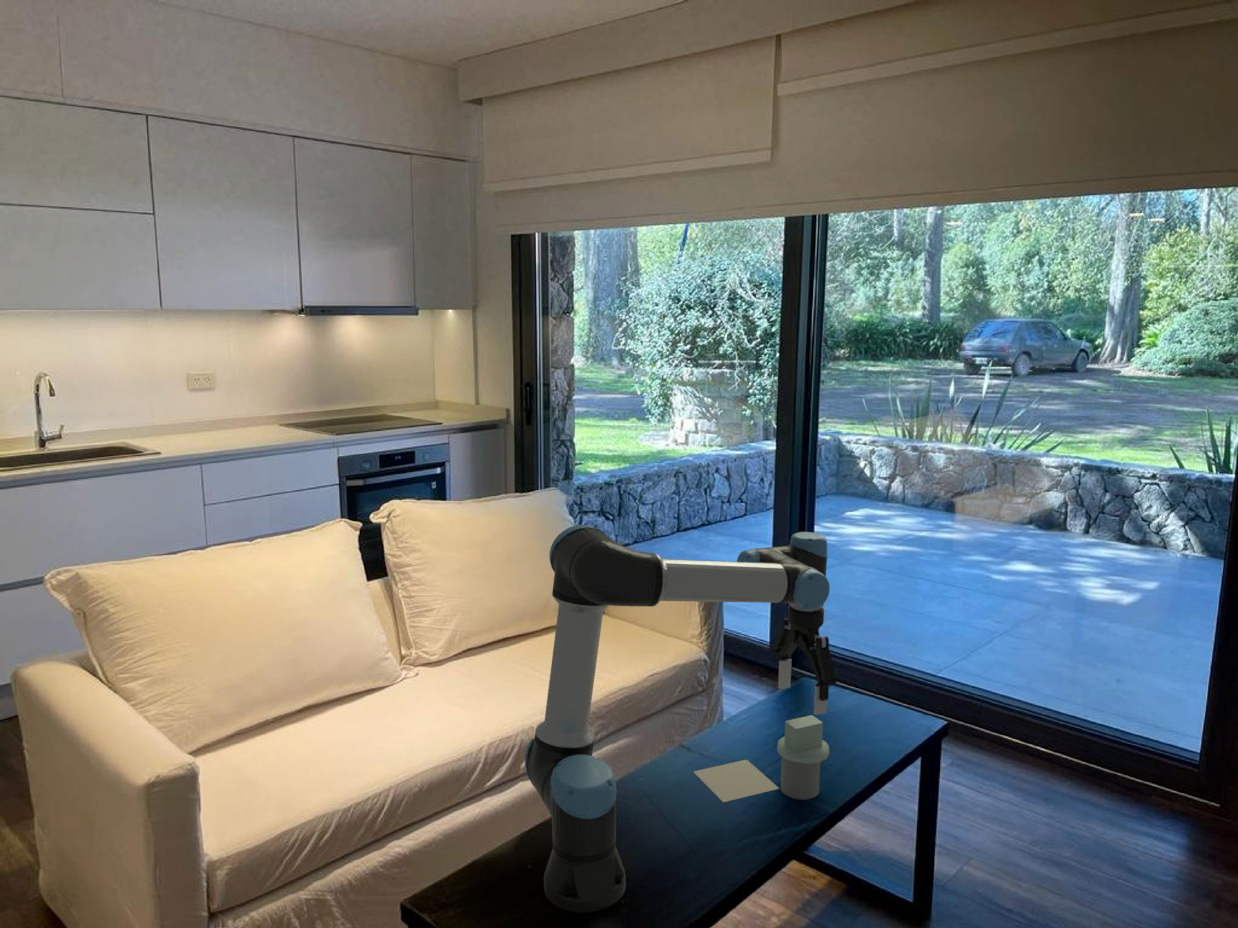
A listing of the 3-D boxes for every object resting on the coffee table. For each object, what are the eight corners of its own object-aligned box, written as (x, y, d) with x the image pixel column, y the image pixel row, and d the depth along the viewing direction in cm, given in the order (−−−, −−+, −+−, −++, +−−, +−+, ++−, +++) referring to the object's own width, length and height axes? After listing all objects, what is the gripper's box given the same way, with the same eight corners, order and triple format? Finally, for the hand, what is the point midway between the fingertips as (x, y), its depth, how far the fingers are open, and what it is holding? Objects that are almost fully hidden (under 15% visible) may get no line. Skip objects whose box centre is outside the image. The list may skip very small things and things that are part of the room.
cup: (818, 804, 199) (820, 761, 197) (779, 800, 201) (781, 757, 199) (818, 784, 207) (820, 742, 206) (781, 780, 209) (782, 739, 207)
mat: (723, 805, 199) (723, 801, 199) (693, 774, 212) (693, 771, 212) (779, 791, 204) (779, 788, 204) (746, 762, 217) (746, 759, 217)
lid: (796, 767, 195) (797, 737, 194) (767, 744, 205) (768, 716, 204) (839, 756, 199) (840, 727, 198) (809, 735, 209) (809, 706, 208)
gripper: (857, 622, 186) (851, 721, 190) (788, 586, 209) (784, 675, 213) (826, 627, 183) (820, 727, 187) (759, 590, 206) (756, 680, 210)
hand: (801, 700), depth 200 cm, fingers open, 13 cm apart
